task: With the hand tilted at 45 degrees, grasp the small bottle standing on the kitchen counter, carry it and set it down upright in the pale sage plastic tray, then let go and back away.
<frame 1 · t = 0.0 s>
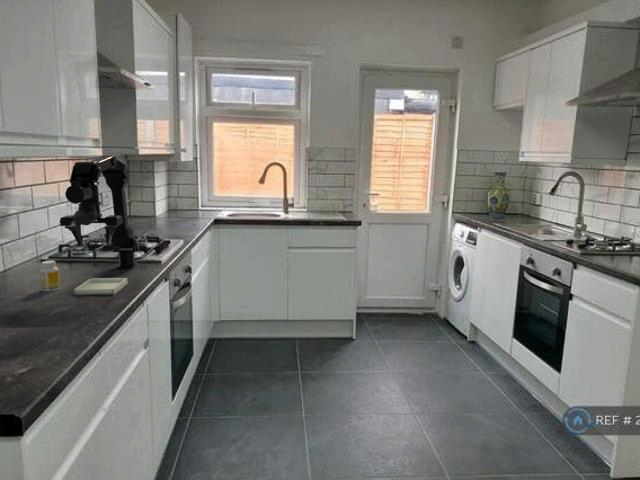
hand: (94, 245, 163), 15 cm above the worktop, tool pointing down, fingers open, 9 cm apart
supplement bottle: (51, 289, 164), on the worktop
sage tray: (102, 288, 164), on the worktop
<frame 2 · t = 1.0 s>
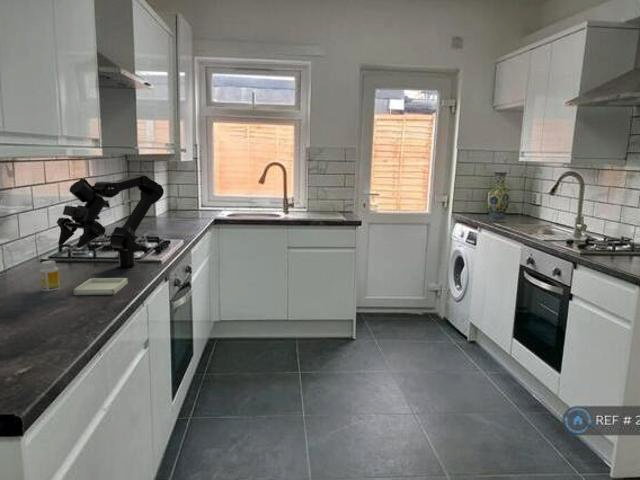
hand: (68, 246, 168), 13 cm above the worktop, tool tilted 45°, fingers open, 9 cm apart
nothing on the worktop moved.
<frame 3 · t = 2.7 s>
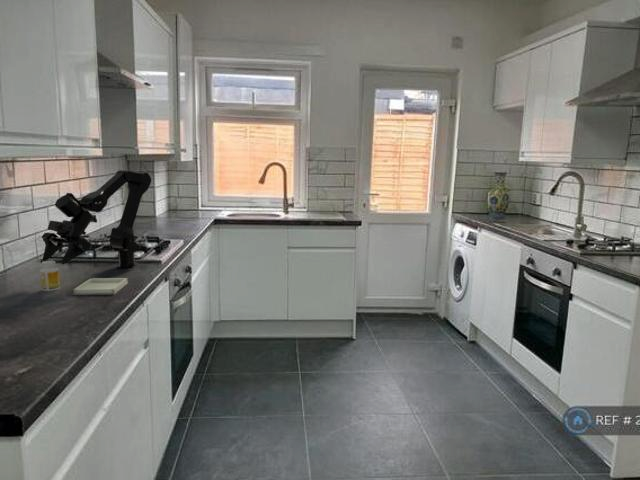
hand: (52, 262, 163), 9 cm above the worktop, tool tilted 45°, fingers open, 9 cm apart
nothing on the worktop moved.
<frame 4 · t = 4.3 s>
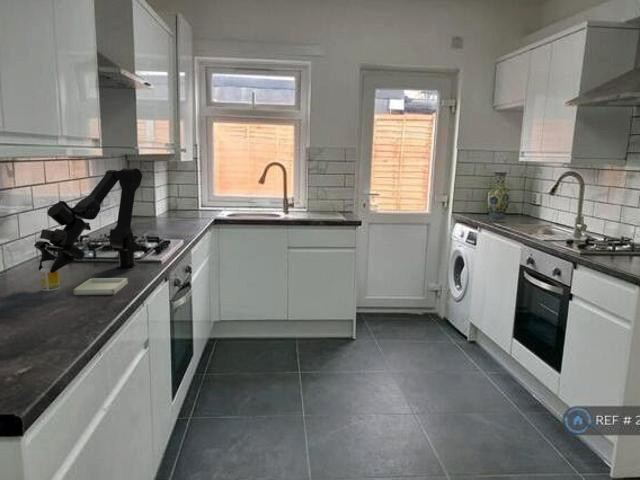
hand: (45, 271, 161), 7 cm above the worktop, tool tilted 45°, fingers closed on supplement bottle, 5 cm apart
supplement bottle: (51, 289, 164), on the worktop, touching gripper
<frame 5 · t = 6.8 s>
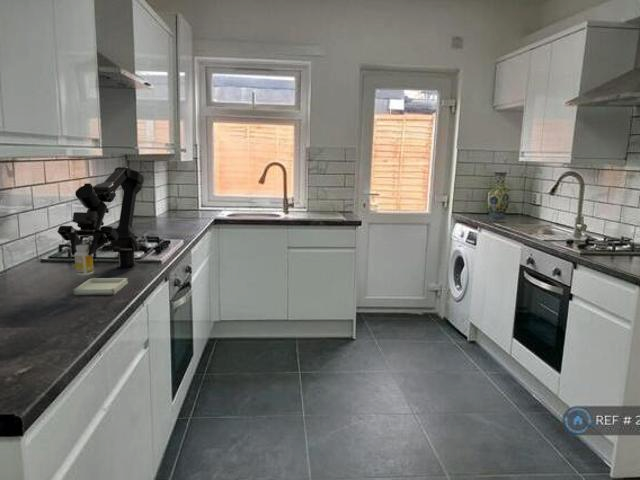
hand: (81, 254, 160), 12 cm above the worktop, tool tilted 45°, fingers closed on supplement bottle, 5 cm apart
supplement bottle: (85, 273, 162), point 5 cm above the worktop, touching gripper
when the fingers open (9 cm above the worktop, at t = 8.9 s): supplement bottle drops 1 cm, resting on sage tray.
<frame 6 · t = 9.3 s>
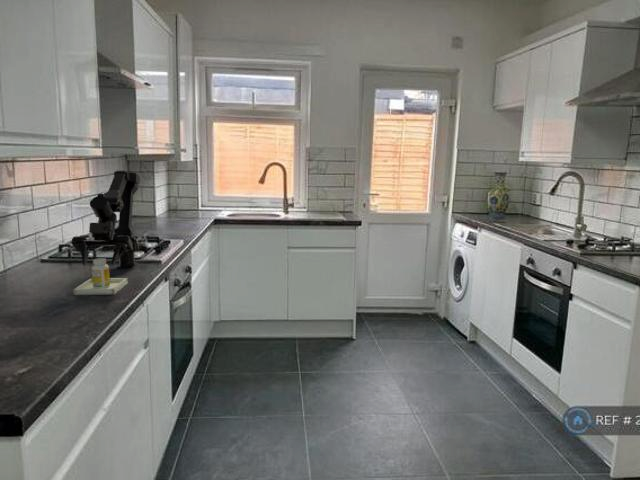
hand: (98, 264, 161), 9 cm above the worktop, tool tilted 45°, fingers open, 9 cm apart
supplement bottle: (102, 287, 164), resting on sage tray
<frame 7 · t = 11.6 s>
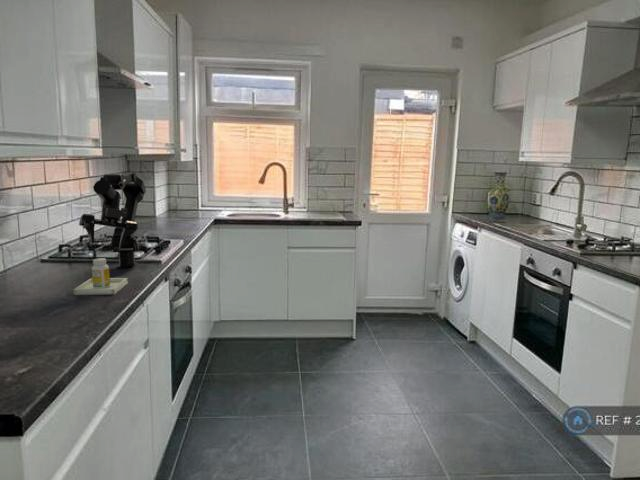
hand: (106, 246, 171), 13 cm above the worktop, tool tilted 30°, fingers open, 9 cm apart
nothing on the worktop moved.
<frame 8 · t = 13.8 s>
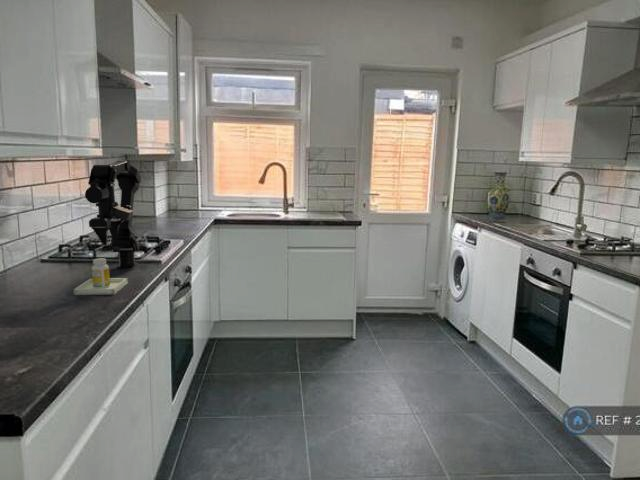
hand: (110, 242, 176), 13 cm above the worktop, tool pointing down, fingers open, 9 cm apart
nothing on the worktop moved.
at the end: supplement bottle inside the target area on the sage tray (0.2 cm from its centre), point 0.4 cm above the sage tray's base; supplement bottle tilted 0°; the gripper is holding nothing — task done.
